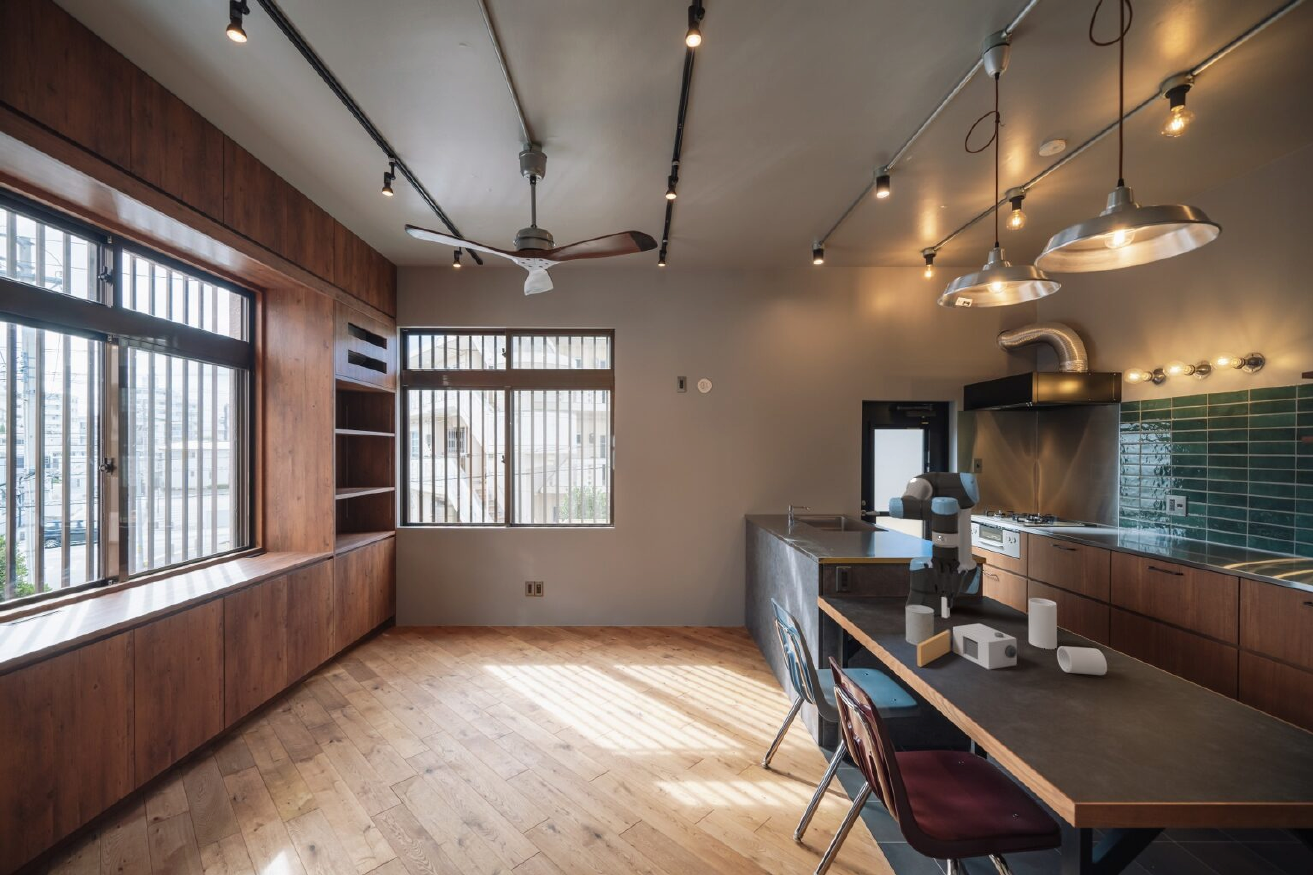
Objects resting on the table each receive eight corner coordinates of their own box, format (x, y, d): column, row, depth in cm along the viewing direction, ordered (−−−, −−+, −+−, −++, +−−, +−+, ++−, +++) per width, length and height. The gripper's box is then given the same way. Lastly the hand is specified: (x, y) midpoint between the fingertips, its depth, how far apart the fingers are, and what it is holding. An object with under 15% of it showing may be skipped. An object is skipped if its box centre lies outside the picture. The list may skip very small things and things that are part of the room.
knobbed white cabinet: (953, 651, 177) (953, 624, 177) (979, 647, 181) (979, 621, 181) (991, 670, 163) (991, 640, 163) (1019, 665, 166) (1019, 636, 166)
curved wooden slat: (945, 648, 180) (945, 628, 180) (951, 650, 178) (951, 630, 178) (915, 664, 167) (915, 643, 167) (921, 667, 165) (921, 645, 165)
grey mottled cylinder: (927, 636, 191) (927, 604, 191) (938, 647, 182) (938, 613, 182) (901, 635, 192) (901, 604, 192) (911, 646, 182) (911, 612, 182)
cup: (1057, 651, 178) (1057, 606, 178) (1028, 645, 182) (1028, 602, 182) (1056, 643, 184) (1056, 600, 184) (1028, 638, 189) (1028, 596, 189)
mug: (1107, 679, 157) (1107, 654, 157) (1071, 676, 159) (1071, 652, 159) (1083, 662, 168) (1082, 639, 168) (1049, 660, 170) (1049, 637, 170)
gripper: (919, 543, 165) (920, 614, 165) (963, 549, 155) (964, 625, 155) (928, 540, 170) (928, 608, 170) (971, 546, 160) (972, 619, 160)
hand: (945, 616), depth 162 cm, fingers closed
